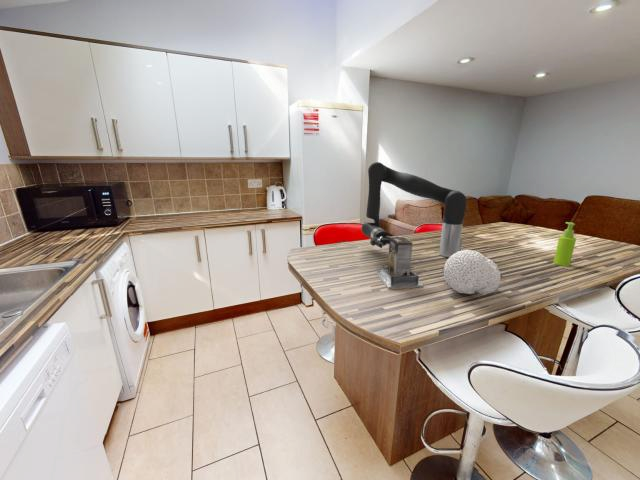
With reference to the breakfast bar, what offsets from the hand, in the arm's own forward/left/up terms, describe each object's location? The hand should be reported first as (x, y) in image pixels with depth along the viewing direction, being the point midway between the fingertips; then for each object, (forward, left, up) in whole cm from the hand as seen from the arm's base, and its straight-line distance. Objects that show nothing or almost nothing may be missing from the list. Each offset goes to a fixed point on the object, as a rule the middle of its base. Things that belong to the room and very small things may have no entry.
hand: (390, 245), depth 121 cm
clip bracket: (0, +11, -11) cm, 16 cm away
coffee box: (0, +11, -11) cm, 15 cm away
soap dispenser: (-84, +1, -12) cm, 85 cm away
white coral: (-23, +23, -12) cm, 34 cm away
